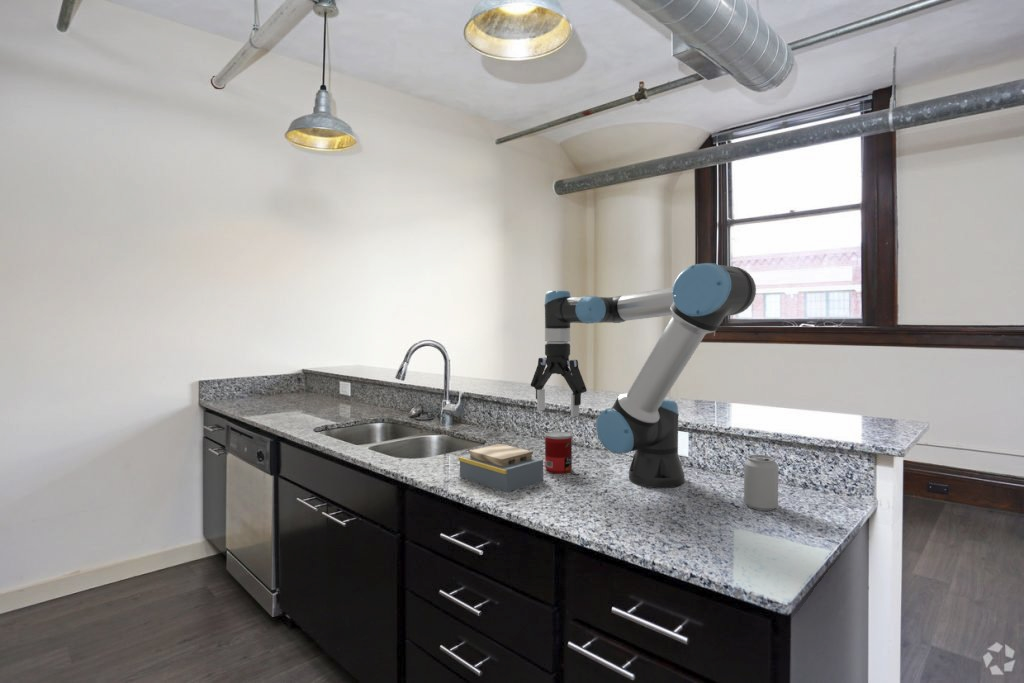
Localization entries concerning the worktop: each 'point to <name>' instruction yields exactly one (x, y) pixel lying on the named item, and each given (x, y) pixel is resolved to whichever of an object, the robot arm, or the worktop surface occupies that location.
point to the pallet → (500, 454)
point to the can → (761, 482)
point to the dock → (502, 473)
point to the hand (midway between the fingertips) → (557, 413)
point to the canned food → (558, 452)
